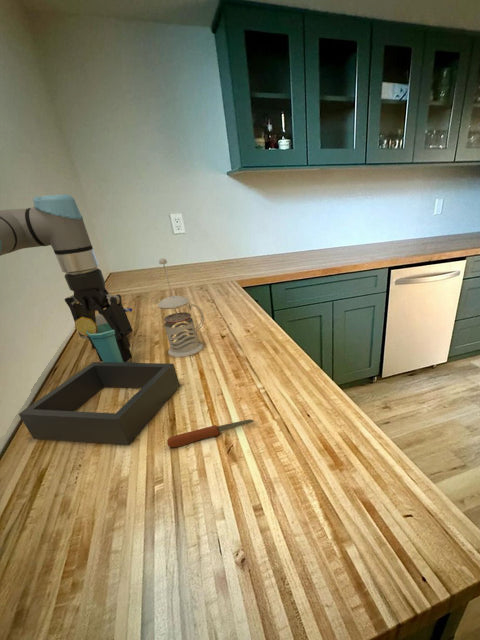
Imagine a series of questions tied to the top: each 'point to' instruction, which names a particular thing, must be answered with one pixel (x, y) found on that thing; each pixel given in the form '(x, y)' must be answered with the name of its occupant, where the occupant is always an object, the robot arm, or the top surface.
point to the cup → (101, 338)
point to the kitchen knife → (203, 433)
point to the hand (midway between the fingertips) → (116, 359)
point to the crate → (108, 428)
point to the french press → (185, 342)
